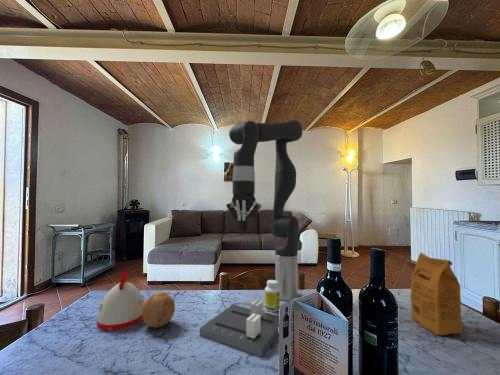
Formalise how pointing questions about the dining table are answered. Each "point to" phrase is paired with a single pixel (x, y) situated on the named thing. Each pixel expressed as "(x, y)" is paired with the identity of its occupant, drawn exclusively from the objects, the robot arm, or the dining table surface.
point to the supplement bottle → (272, 296)
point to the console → (241, 330)
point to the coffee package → (436, 296)
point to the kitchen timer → (120, 306)
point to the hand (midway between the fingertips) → (243, 231)
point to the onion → (158, 310)
